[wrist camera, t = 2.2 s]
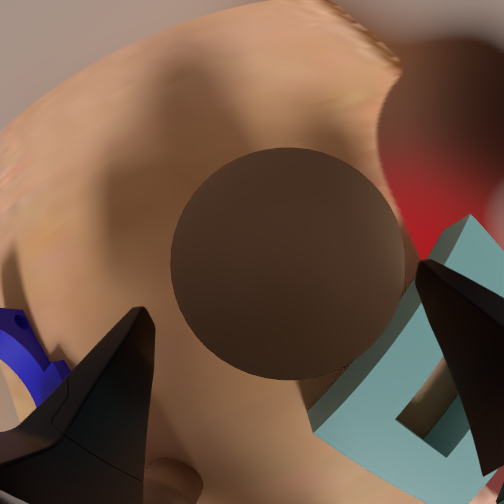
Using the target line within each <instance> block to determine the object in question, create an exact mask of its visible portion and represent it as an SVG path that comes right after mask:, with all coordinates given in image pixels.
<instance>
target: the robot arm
mask: <svg viewBox="0 0 504 504" xmlns="http://www.w3.org/2000/svg"><path fill="white" fill-rule="evenodd" d="M415 286H416V289H417V292H418V294H419V297H420V299H421V302H422V305H423V308H424V310H425V313H426V316H427V319H428V321H429V324H430V326H431V328H432V331H433V333H434V335H435V337H436V339H437V342H438V344H439V346H440V348H441V351H442V353H443V355H444V358H445V360H446V363H447V365H448V368H449V370H450V373H451V375H452V378H453V380H454V383H455V386H456V388H457V391H458V394H459V396H460V399H461V402H462V405H463V408H464V411H465V414H466V417H467V420H468V423H469V426H470V430H471V434H472V437H473V441H474V444H475V448H476V452H477V456H478V460H479V464H480V468H481V472H482V476H483V477H484V476H486V475H488V474H490V473H492V472H493V471H495V470H497V469H498V468H500V467H502V466H504V298H503V297H502V296H500V295H498V294H496V293H495V292H493V291H491V290H489V289H488V288H486V287H484V286H482V285H480V284H478V283H477V282H475V281H473V280H471V279H469V278H467V277H465V276H464V275H462V274H460V273H458V272H456V271H454V270H452V269H450V268H448V267H446V266H444V265H442V264H440V263H438V262H436V261H434V260H432V259H425V260H421V261H420V262H419V263H418V268H417V273H416V277H415ZM154 354H155V325H154V322H153V320H152V318H151V317H150V315H149V313H148V311H147V309H146V308H145V307H143V306H140V307H133V308H132V309H131V310H130V311H129V312H128V313H127V314H126V315H125V316H124V317H123V318H122V319H121V320H120V321H119V322H118V323H117V324H116V325H115V326H114V327H113V328H112V329H111V330H110V331H109V332H108V333H107V334H106V335H105V336H104V337H103V338H102V340H101V341H100V342H99V343H98V344H97V345H96V346H95V347H94V348H93V349H92V350H91V351H90V352H89V353H88V354H87V355H86V356H85V358H84V359H83V360H82V361H81V362H80V363H79V364H78V365H77V366H76V367H75V368H74V369H73V370H72V372H71V373H70V374H69V375H68V377H66V378H65V379H64V380H63V381H62V383H61V384H60V385H59V386H58V387H57V388H56V389H55V390H54V391H53V392H52V393H51V394H50V395H49V396H48V397H47V398H46V399H45V400H44V401H43V402H42V403H41V404H40V405H39V406H38V407H37V408H36V409H35V410H34V411H33V412H32V413H31V414H30V415H29V416H28V417H27V418H26V419H25V420H24V421H23V422H22V423H21V424H20V425H18V426H17V427H16V428H13V429H11V430H9V431H5V432H0V504H143V488H144V482H143V481H144V465H145V450H146V437H147V426H148V416H149V407H150V398H151V390H152V382H153V374H154ZM496 503H497V504H504V483H503V486H502V488H501V490H500V493H499V495H498V497H497V500H496Z"/></svg>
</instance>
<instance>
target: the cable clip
mask: <svg viewBox="0 0 504 504" xmlns="http://www.w3.org/2000/svg"><path fill="white" fill-rule="evenodd" d="M0 359H1V360H2V361H4V362H5V363H6V364H7V365H8V366H9V367H10V368H11V369H12V370H13V371H14V372H15V373H16V374H17V375H18V376H19V378H20V379H21V380H22V381H23V383H24V384H25V386H26V387H27V389H28V390H29V392H30V394H31V396H32V398H33V400H34V402H35V404H36V407H38V406H39V405H40V404H41V403H42V402H43V401H44V400H45V399H46V398H47V397H48V396H49V395H50V394H51V393H52V392H53V391H54V390H55V389H56V388H57V387H58V386H59V385H60V384H61V383H62V381H63V380H64V379H65V378H66V377H68V375H69V374H70V373H71V371H70V369H69V368H68V366H67V364H66V363H65V361H64V360H61V361H54V362H52V363H50V361H49V360H48V358H47V356H46V355H45V353H44V351H43V349H42V347H41V346H40V344H39V342H38V340H37V338H36V336H35V334H34V332H33V330H32V328H31V326H30V324H29V322H28V320H27V318H26V316H25V314H24V312H23V310H17V309H7V308H0Z"/></svg>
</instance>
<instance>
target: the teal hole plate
mask: <svg viewBox="0 0 504 504" xmlns="http://www.w3.org/2000/svg"><path fill="white" fill-rule="evenodd" d="M427 259H432V260H434V261H436V262H438V263H440V264H442V265H444V266H446V267H448V268H450V269H452V270H454V271H456V272H458V273H460V274H462V275H464V276H465V277H467V278H469V279H471V280H473V281H475V282H477V283H478V284H480V285H482V286H484V287H486V288H488V289H489V290H491V291H493V292H495V293H496V294H498V295H500V296H502V297H503V298H504V251H503V250H502V249H501V248H500V247H499V245H498V244H497V243H496V242H495V241H494V240H493V238H492V237H491V236H490V235H489V234H488V233H487V231H486V230H485V229H484V228H483V227H482V226H481V225H480V224H479V223H478V221H476V219H475V218H474V217H473V216H472V215H471V214H469V215H468V216H466V217H464V218H463V219H461V220H459V221H458V222H456V223H455V224H453V225H451V226H449V227H448V228H446V229H444V230H443V232H442V233H441V235H440V237H439V239H438V240H437V242H436V244H435V246H434V247H433V249H432V251H431V252H430V255H429V256H428V257H427ZM443 356H444V355H443V353H442V351H441V348H440V346H439V344H438V342H437V339H436V337H435V335H434V333H433V331H432V328H431V326H430V324H429V321H428V319H427V316H426V313H425V310H424V308H423V305H422V302H421V299H420V297H419V294H418V292H417V289H416V286H415V278H414V280H413V281H412V283H411V284H410V286H409V287H408V289H407V290H406V292H405V293H404V295H403V296H402V298H401V299H400V301H399V304H398V307H397V309H396V311H395V313H394V315H393V317H392V319H391V321H390V323H389V324H388V326H387V327H386V329H385V330H384V332H383V333H382V335H381V336H380V337H379V338H378V339H377V340H376V342H375V343H374V344H373V345H372V346H371V347H370V348H369V349H368V350H366V351H365V352H364V353H363V354H362V355H361V356H359V357H358V358H357V359H355V360H354V361H353V362H352V363H351V364H350V365H349V366H348V368H347V369H346V370H345V371H344V372H343V373H342V375H341V376H340V377H339V378H338V379H337V380H336V381H335V382H334V383H333V385H332V386H331V387H330V388H329V389H328V390H327V391H326V392H325V393H324V394H323V395H322V396H321V397H320V398H319V400H318V401H317V402H316V403H315V404H314V405H313V406H312V407H311V408H310V409H309V410H308V411H307V414H308V418H309V421H310V424H311V428H312V431H313V434H315V435H316V436H317V437H319V438H320V439H322V440H323V441H324V442H326V443H327V444H329V445H330V446H332V447H333V448H334V449H336V450H337V451H339V452H340V453H342V454H343V455H345V456H346V457H348V458H349V459H351V460H352V461H354V462H356V463H357V464H359V465H360V466H362V467H363V468H365V469H367V470H368V471H370V472H371V473H373V474H375V475H376V476H378V477H380V478H381V479H383V480H385V481H387V482H388V483H390V484H392V485H393V486H395V487H397V488H399V489H401V490H402V491H404V492H406V493H408V494H410V495H412V496H414V497H415V498H417V499H419V500H421V501H423V502H425V503H427V504H468V503H469V502H470V501H471V500H472V499H473V498H474V497H475V496H476V495H477V493H478V492H479V491H480V490H481V489H482V488H483V487H484V485H485V484H486V483H487V482H488V481H489V479H490V478H491V477H492V476H493V474H494V473H495V472H496V471H497V470H498V469H497V470H495V471H493V472H492V473H490V474H488V475H486V476H484V477H483V476H482V472H481V468H480V464H479V460H478V456H477V452H476V448H475V444H474V441H473V437H472V434H471V430H470V426H469V423H468V420H467V417H466V414H465V411H464V408H463V405H462V402H461V399H460V396H459V394H458V395H457V397H456V398H455V399H454V401H453V402H452V404H451V405H450V406H449V408H448V409H447V410H446V412H445V413H444V414H443V416H442V417H441V418H440V419H439V421H438V422H437V423H436V424H435V426H434V427H433V428H432V429H431V431H430V432H429V433H428V434H427V435H426V436H425V438H424V439H422V438H421V437H420V436H418V435H417V434H416V433H414V432H413V431H412V430H410V429H409V428H408V427H406V426H405V425H404V424H402V423H401V422H400V421H399V420H397V419H396V417H397V416H398V415H399V414H400V413H401V411H402V410H403V409H404V408H405V407H406V406H407V404H408V403H409V402H410V401H411V399H412V398H413V397H414V396H415V394H416V393H417V392H418V390H419V389H420V388H421V387H422V385H423V384H424V383H425V381H426V380H427V379H428V377H429V376H430V374H431V373H432V372H433V370H434V369H435V367H436V366H437V364H438V363H439V361H440V360H441V359H442V357H443Z"/></svg>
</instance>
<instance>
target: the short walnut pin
mask: <svg viewBox="0 0 504 504" xmlns="http://www.w3.org/2000/svg"><path fill="white" fill-rule="evenodd" d="M143 482H144V488H143V504H196V502H197V500H198V498H199V496H200V494H201V492H202V489H203V484H202V480H201V478H200V476H199V475H198V473H197V472H196V471H195V470H194V469H193V468H192V467H190V466H189V465H187V464H185V463H184V462H181V461H179V460H176V459H171V458H162V459H158V460H156V461H154V462H153V463H152V464H151V465H150V466H149V467H148V468H147V469H146V470H145V471H144V481H143Z"/></svg>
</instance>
